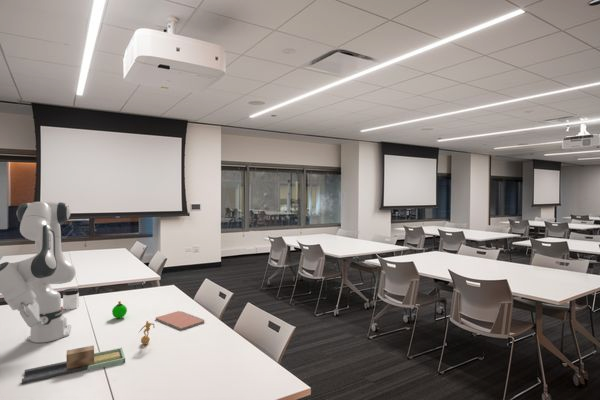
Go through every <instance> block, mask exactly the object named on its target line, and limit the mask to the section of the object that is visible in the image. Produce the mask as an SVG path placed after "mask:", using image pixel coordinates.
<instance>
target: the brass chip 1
mask: <svg viewBox="0 0 600 400" xmlns="http://www.w3.org/2000/svg"><path fill="white" fill-rule="evenodd" d="M103 362H107V354H105V355H100V356H96V357H94V364H98V363H103Z"/></svg>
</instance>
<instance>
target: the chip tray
mask: <svg viewBox="0 0 600 400" xmlns="http://www.w3.org/2000/svg"><path fill="white" fill-rule="evenodd" d="M115 352H119V354H120V359H117V360H112V361H107V362H103V363H98V364H93V365H89V366H88V367H87V371H93V370H98V369H102V368H103V369H104V368H108V367H112V366H116V365H120V364H124V363H126V356H125V354H124V351H123V347H119V348H113V349H109V350H103V351H98V352H94V357H96V356H100V355H105V354H110V353H115Z"/></svg>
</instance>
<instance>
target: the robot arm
mask: <svg viewBox="0 0 600 400" xmlns="http://www.w3.org/2000/svg"><path fill="white" fill-rule="evenodd" d="M16 216H17V221H18V222H20V226H19V233H20V234H21V236H22V237H24V238H25V239H26V240H29V241H33V242H34V251H35V253H36V254H35V255H34V256H31V257H29V258H26V259H22V260H20V261H16V262H9V261H5V262H4V261H3V262H2V263H0V294H1V295H2V296H3V299H4V301H5V302H6V303H7V304H8V306H9V307H10V309H11V310H13V311H16V310H17V311H18V312H19V315H20V317H22V319H23V320H24V323H26V325H27V326H28V327H29V328H30V335H28V336H27V338H26V340H27V341H31V342H32V343H37V344H38V343H47V342H52V341H56V340H59V339H61V338H66V337H69V336H70V334H71V330H72V325H71V324H68V323H67V322H68V321H67V320H68V319H67V318H66V317H65V316H64V315H63V310H64V309H63V306H62V304H61V303H62V298H61V297H62V296H61V293H60V292H59V291H57V290H55V289H53V288H52V286H51V285H62V284H67V283H70V282H72V281H73V280H74V278H75V277H76V268H75V266H74V265H73V264H72V263H71V262H69V261H68V260H67V259H66V257H65V256H64V253H63V251H62V231H61V226H62V225H63V224H64V223H67V222H68V221H69V218H70V217H71V209H70V206H69V204H67V202H66V203H65V202H60V201H59V202H52V201H43V202H42V201H33V202H24V203H21V204H20V205H19V206H18V207H17V210H16Z"/></svg>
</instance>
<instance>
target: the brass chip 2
mask: <svg viewBox="0 0 600 400" xmlns="http://www.w3.org/2000/svg"><path fill="white" fill-rule="evenodd" d="M117 359H121V353H119V352H115V353H110V354H107V361H112V360H117Z"/></svg>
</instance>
